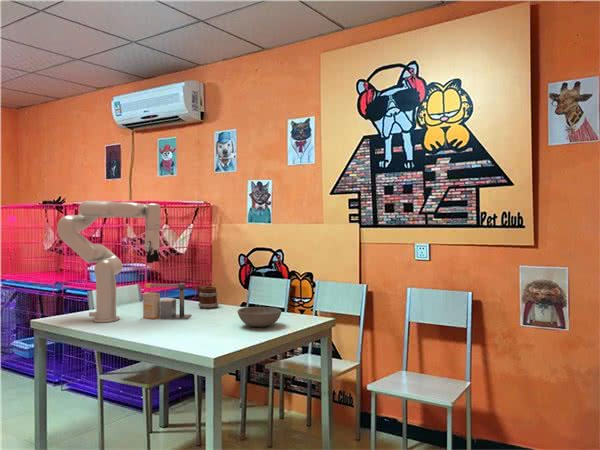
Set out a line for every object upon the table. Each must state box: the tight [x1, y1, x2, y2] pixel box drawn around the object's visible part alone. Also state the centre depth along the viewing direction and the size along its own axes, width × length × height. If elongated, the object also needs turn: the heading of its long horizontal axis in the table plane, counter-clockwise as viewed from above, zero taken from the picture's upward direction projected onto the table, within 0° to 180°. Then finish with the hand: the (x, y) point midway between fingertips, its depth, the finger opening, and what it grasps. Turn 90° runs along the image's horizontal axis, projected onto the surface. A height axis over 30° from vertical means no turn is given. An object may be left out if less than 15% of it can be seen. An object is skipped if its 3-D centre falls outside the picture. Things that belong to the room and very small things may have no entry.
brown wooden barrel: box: [196, 284, 219, 310], centre depth 284 cm, size 12×14×15 cm
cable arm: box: [144, 282, 186, 289], centre depth 253 cm, size 20×4×2 cm, turn 88°
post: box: [171, 288, 192, 320], centre depth 253 cm, size 8×8×16 cm
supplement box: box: [142, 291, 161, 320], centre depth 254 cm, size 8×5×13 cm, turn 58°
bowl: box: [237, 306, 283, 328], centre depth 233 cm, size 21×21×8 cm
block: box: [159, 298, 177, 320], centre depth 254 cm, size 6×8×9 cm
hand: (152, 262), depth 246 cm, fingers open, 8 cm apart
